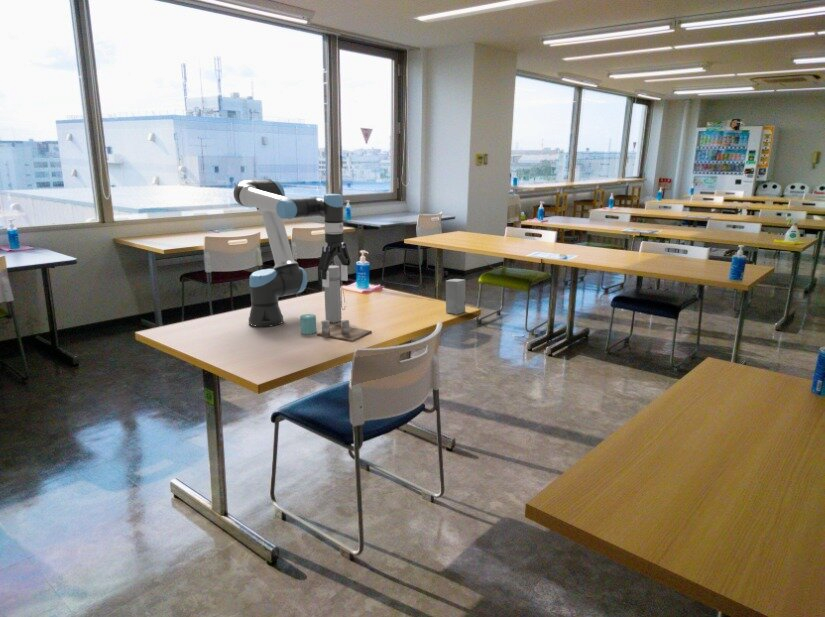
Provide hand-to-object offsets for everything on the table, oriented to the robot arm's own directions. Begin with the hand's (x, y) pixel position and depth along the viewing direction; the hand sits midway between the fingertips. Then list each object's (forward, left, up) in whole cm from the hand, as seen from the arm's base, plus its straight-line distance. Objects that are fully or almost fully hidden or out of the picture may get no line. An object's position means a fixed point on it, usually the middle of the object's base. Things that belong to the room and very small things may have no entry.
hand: (335, 283), depth 232 cm
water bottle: (-10, +12, -21) cm, 26 cm away
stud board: (+5, -2, -21) cm, 21 cm away
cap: (-10, -7, -21) cm, 24 cm away
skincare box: (+31, +52, -21) cm, 64 cm away
